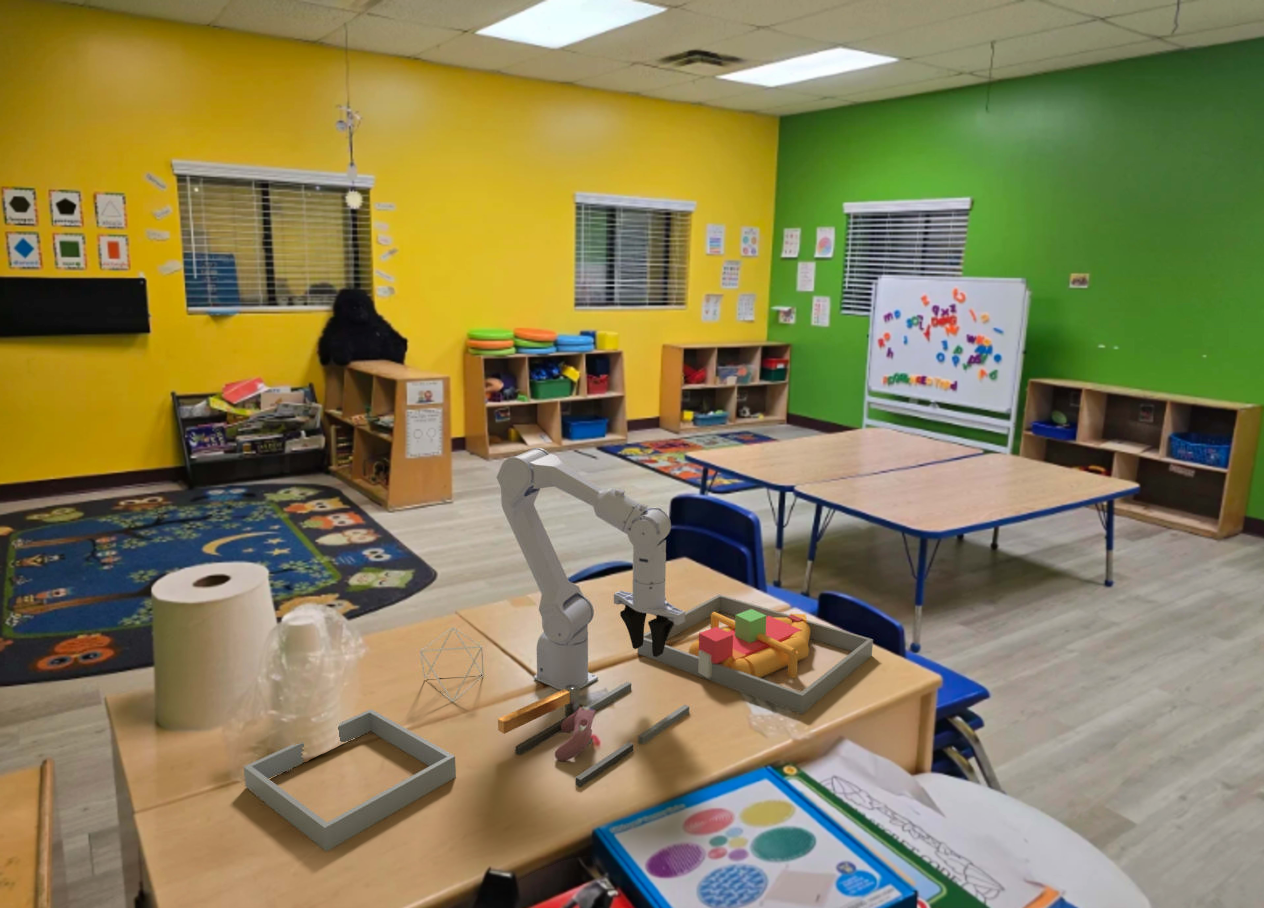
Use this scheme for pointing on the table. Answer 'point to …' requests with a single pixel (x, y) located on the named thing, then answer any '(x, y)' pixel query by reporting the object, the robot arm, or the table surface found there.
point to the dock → (617, 754)
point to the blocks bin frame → (753, 684)
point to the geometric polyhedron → (451, 649)
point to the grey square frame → (369, 810)
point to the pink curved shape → (576, 733)
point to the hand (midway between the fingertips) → (647, 650)
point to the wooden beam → (542, 708)
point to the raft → (753, 643)
